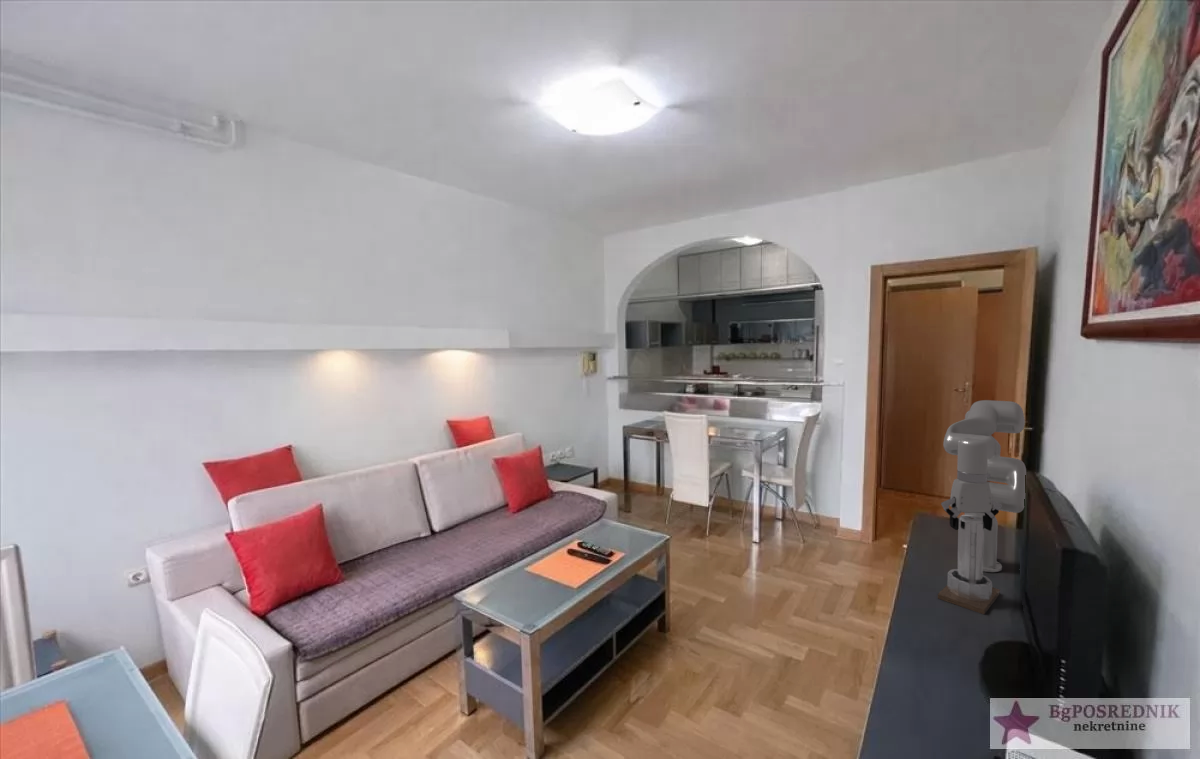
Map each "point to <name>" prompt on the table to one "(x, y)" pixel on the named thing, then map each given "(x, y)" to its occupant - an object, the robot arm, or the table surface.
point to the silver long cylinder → (970, 549)
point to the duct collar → (969, 593)
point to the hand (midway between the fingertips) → (970, 528)
